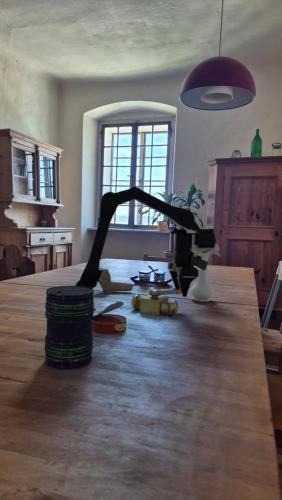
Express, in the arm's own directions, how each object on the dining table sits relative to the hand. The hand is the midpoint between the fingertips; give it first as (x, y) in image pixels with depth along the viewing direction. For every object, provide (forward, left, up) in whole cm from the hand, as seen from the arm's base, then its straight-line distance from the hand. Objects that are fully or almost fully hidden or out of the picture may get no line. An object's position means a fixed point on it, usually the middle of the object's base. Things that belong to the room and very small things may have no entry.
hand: (181, 293), depth 115 cm
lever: (-2, +4, 0) cm, 5 cm away
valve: (-6, +7, -6) cm, 11 cm away
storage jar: (-53, +3, -7) cm, 53 cm away
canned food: (-30, +9, -7) cm, 32 cm away
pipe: (+14, +36, -7) cm, 39 cm away
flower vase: (+23, +1, -6) cm, 24 cm away
